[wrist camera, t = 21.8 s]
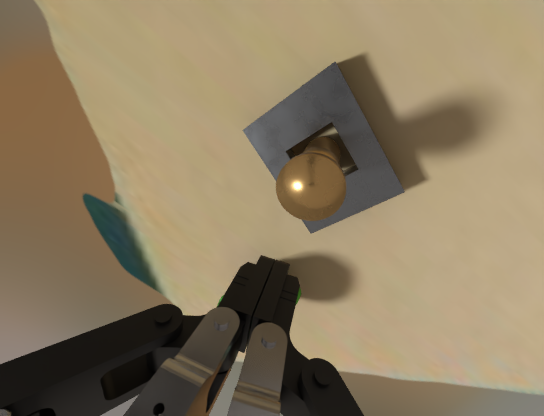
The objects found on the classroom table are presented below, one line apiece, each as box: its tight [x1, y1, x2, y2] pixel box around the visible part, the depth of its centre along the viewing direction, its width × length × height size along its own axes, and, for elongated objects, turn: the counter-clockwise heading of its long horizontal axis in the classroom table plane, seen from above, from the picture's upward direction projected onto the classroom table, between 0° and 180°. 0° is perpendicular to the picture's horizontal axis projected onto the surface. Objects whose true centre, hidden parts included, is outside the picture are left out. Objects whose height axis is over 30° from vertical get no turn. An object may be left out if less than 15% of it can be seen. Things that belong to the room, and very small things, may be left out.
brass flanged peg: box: [276, 137, 346, 221], centre depth 31 cm, size 7×7×14 cm
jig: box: [243, 62, 405, 233], centre depth 35 cm, size 18×14×3 cm
